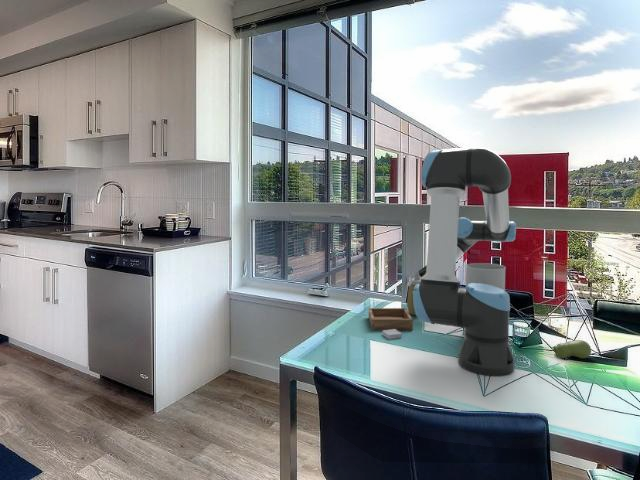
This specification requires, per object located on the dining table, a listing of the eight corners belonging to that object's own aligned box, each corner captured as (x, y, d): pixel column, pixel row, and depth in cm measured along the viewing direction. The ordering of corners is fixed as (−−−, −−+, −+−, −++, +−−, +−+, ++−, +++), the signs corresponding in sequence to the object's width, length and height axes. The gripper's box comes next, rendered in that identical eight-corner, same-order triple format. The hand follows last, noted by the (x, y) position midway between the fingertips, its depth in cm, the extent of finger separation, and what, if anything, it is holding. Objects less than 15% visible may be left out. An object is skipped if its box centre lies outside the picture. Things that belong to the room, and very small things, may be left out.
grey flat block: (401, 338, 141) (401, 333, 141) (388, 340, 140) (388, 335, 139) (394, 334, 146) (394, 328, 146) (382, 335, 144) (382, 330, 144)
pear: (593, 343, 119) (555, 346, 121) (595, 360, 119) (558, 363, 122) (585, 336, 124) (549, 339, 126) (587, 353, 124) (552, 355, 127)
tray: (412, 330, 149) (412, 319, 148) (371, 330, 149) (371, 319, 149) (405, 317, 164) (405, 308, 163) (368, 317, 164) (368, 308, 164)
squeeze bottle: (405, 315, 166) (406, 273, 164) (407, 310, 174) (407, 269, 172) (426, 317, 164) (426, 273, 162) (426, 311, 172) (427, 270, 170)
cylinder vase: (462, 339, 139) (463, 267, 136) (467, 328, 150) (469, 262, 147) (501, 345, 133) (504, 270, 130) (504, 333, 144) (506, 264, 141)
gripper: (465, 266, 153) (425, 304, 156) (447, 256, 178) (413, 289, 181) (451, 252, 153) (411, 291, 155) (435, 244, 178) (401, 278, 180)
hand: (412, 290), depth 168 cm, fingers open, 13 cm apart
